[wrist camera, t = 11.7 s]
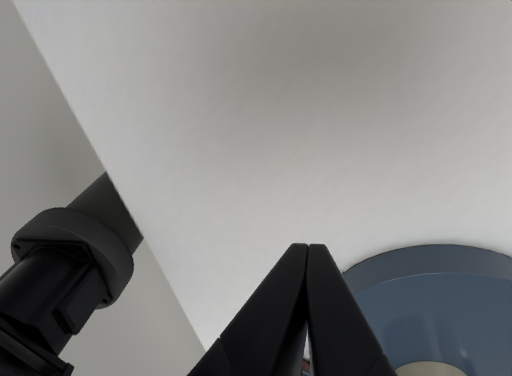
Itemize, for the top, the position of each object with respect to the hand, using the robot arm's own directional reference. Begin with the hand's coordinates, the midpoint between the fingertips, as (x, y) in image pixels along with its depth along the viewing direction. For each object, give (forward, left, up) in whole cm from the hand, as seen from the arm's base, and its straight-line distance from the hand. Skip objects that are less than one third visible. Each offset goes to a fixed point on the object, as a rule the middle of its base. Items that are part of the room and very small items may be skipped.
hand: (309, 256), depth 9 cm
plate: (+8, -18, -12) cm, 23 cm away
